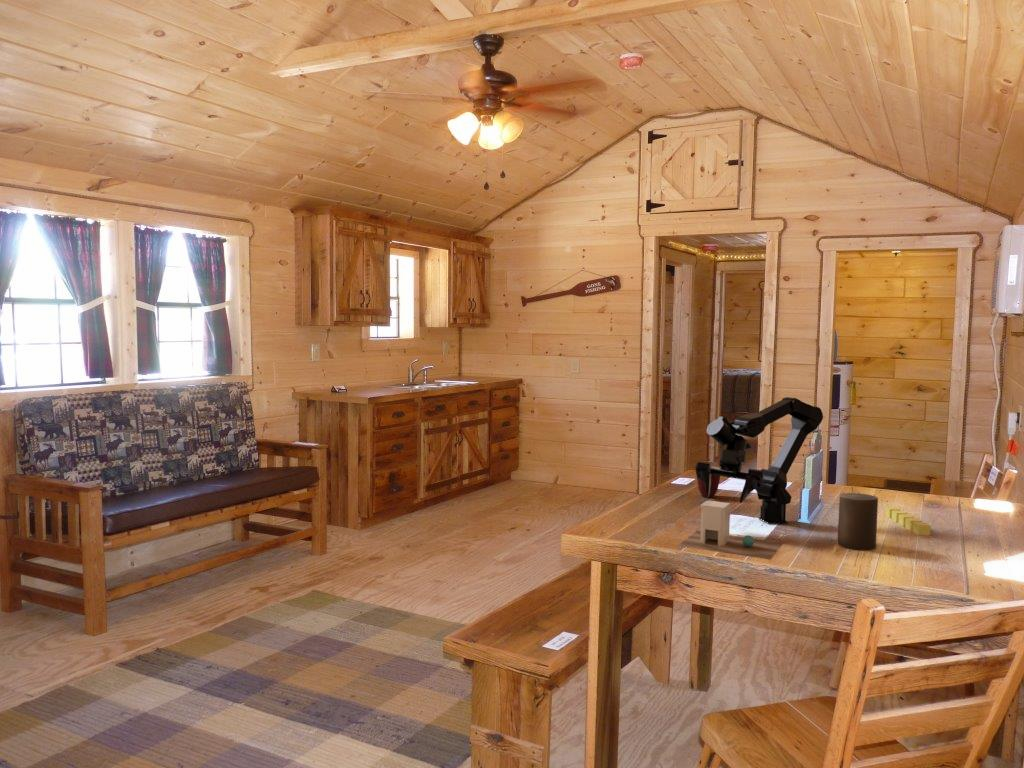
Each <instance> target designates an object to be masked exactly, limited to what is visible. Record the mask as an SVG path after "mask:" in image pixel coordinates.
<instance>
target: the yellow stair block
mask: <svg viewBox="0 0 1024 768" xmlns="http://www.w3.org/2000/svg"><path fill="white" fill-rule="evenodd" d="M885 515H886V516H887V517H886V516H885ZM884 516H885V517H886V518H888V517H889V518H892V519H893V520H894V521H893V520H892V519H891V520H892V521H893V522H895V521H896V522H895V523H899V524H898V525H900V524H901V525H900V526H902V527H906V529H907V530H908V531H911V532H913V533H915V534H916V535H918V536H931V524H928V523H927V522H923V520H921V519H919V518H916V517H915V516H913V515H911V514H908V513H907V512H906V511H904V510H901V509H900V508H899V507H896V506H885V508H884ZM889 518H888V519H889Z"/></svg>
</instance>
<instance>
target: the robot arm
mask: <svg viewBox="0 0 1024 768" xmlns="http://www.w3.org/2000/svg"><path fill="white" fill-rule="evenodd" d="M788 415H789V416H791V419H790V422H791V429H790V430H789V433H788V434H787V436H786V439H785V440H784V442H783V444H782V446H781V448H780V450H779V452H778V453H777V455H776V457H775V459H774V461H773V463H772V464H771V466H770V467H768V468H767V469H766V468H762V469H756V468H755V469H754V468H748V471H747V472H743V471H742V467H743V463H746V460H747V450H748V449H751V448H752V445H751V444H750V443H749V442H748V439H746V438H753V439H754V438H756V437H758V436H759V435H761V434H762V433H763V432H764V431H765V429H766V427H767V426H768V425H770V424H772V423H774V422H776V421H778V420H780V419H782V418H784V417H785V416H788ZM823 419H824V413H823V410H822V409H821V408H820V407H818V406H813V405H811V404H808V403H806V402H804V401H802V400H800V399H799V398H797V397H789V396H786V397H784V398H783V397H782V399H781V400H780V401H777V402H775V403H773V404H771V405H769V406H767V407H765V408H763V409H761V410H759V411H757V412H755V413H748V414H743V415H739V416H737V417H735V419H734V420H733V421H731V422H730V421H728V419H727V418H726V417H725V416H721V415H719V416H718V418H717V419H714V420H713V421H711V422H710V423H709V424H708V425H707V427H706V434H708V436H709V437H711V438H712V439H713V440H714V441H716V443H717V444H718V445H720V446H724V449H722V448H721V449H720V454H719V455H720V456H719V463H718V466H719V468H720V469H717V468H718V467H717V468H711V467H712V463H711V462H706V461H701V460H700V461H698V462H697V463H696V464H695V475H696V479H697V478H699V479H701V481H703V482H704V483H705V487H706V495H707V497H706V498H708V497H709V494H710V486H711V475H718V476H720V477H726V478H730V479H737V480H743V481H745V482H744V485H743V489H742V491H741V493H740V498H739V504H742V503H743V502H744V501H745V499H746V498H747V497H748V496H749V494H751V493H752V492H753V491H754V490H755V491H756V494H757V498H758V500H761V505H760V516H759V517H758V519H759V520H760V519H762V520H764V521H766V522H768V523H767V524H769V523H777V524H788V523H789V521H788V520H786V515H787V512H786V511H787V509H786V508H787V505H788V504H789V505H790V503H791V501H792V495H791V494H790V493H789V491H788V490H787V489H786V488H787V486H788V478H787V475H788V473H789V471H790V468H791V466H792V465H793V463H794V461H795V459H796V457H797V456H798V454H799V451H800V449H801V448H802V447H803V444H804V442H805V441H806V438H807V436H808V435H810V434H811V433H813V432H814V431H816V430H817V429H818V427H819V426H820V424H822V422H823ZM744 437H746V438H744ZM762 520H761V521H762ZM764 521H763V522H764ZM766 522H765V523H766ZM787 522H788V523H787Z"/></svg>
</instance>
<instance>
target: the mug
mask: <svg viewBox="0 0 1024 768" xmlns="http://www.w3.org/2000/svg"><path fill="white" fill-rule="evenodd" d="M711 468H717V469H720V467H717V466H711ZM720 479H721V476H718V475H711V486H710V494H709V497H708V498H710V499H712V498H714V497H715V495H716V493H717V492H718V490H719V484H720ZM696 481H697V487H698V488H697V489H698V491H699V493H700V495H701V497H703V498H707V495H706V487H705V483H704V482H703V481H701V479H699V478H697V477H696Z"/></svg>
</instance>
